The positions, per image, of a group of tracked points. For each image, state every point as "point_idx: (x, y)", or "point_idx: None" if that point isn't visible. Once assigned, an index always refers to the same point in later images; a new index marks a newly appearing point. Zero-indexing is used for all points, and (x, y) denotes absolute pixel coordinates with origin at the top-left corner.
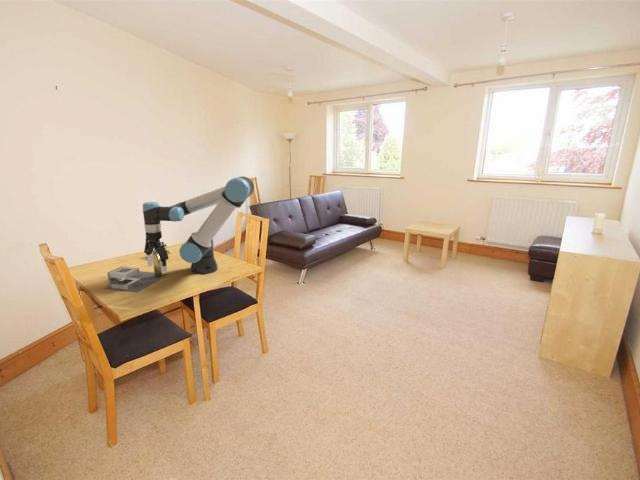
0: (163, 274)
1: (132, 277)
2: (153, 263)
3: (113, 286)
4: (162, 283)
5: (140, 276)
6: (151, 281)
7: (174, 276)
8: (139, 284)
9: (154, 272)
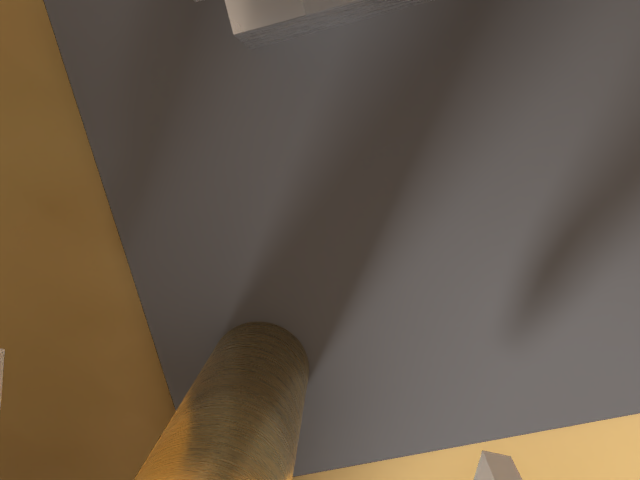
0: None
1: (592, 157)
2: (224, 473)
3: None
4: (15, 225)
5: (507, 246)
6: (177, 183)
7: (100, 474)
8: None
9: (269, 360)
